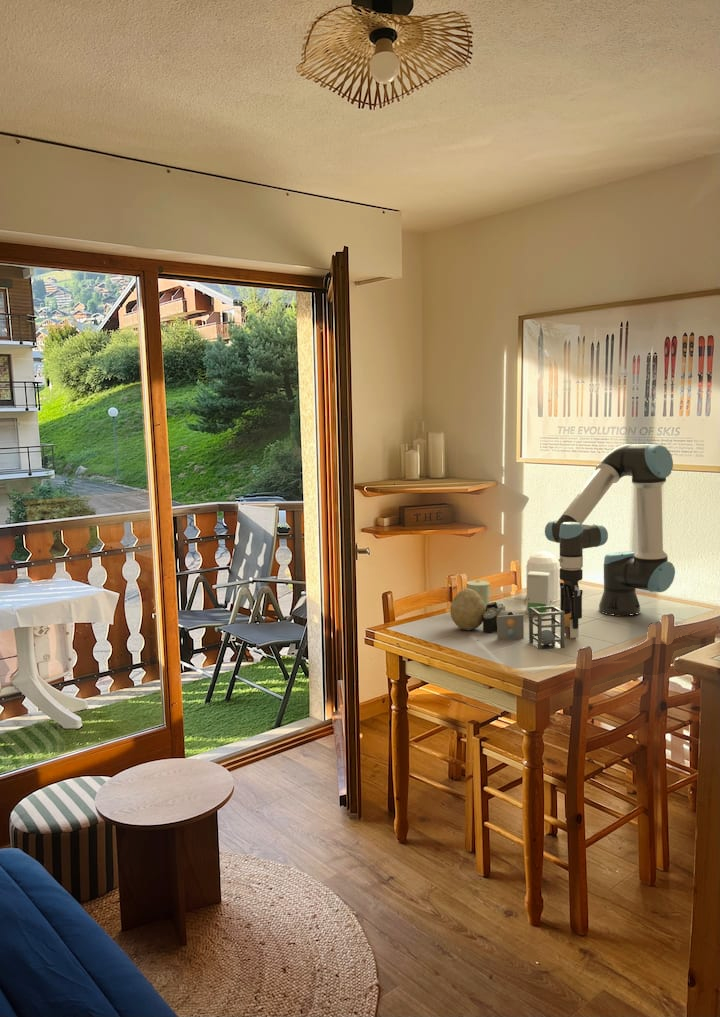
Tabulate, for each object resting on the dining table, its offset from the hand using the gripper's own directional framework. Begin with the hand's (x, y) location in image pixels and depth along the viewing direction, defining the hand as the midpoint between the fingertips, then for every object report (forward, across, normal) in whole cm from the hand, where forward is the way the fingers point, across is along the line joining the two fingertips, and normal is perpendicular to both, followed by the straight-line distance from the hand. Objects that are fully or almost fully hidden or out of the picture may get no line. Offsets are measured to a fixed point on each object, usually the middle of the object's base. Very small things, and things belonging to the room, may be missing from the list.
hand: (570, 635), depth 266 cm
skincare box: (+2, -38, +3) cm, 38 cm away
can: (+2, -45, -19) cm, 49 cm away
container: (+2, -59, +13) cm, 60 cm away
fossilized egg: (+2, -21, -30) cm, 37 cm away
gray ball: (+1, +6, -11) cm, 13 cm away
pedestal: (+2, 0, 0) cm, 2 cm away
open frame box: (+2, +6, -11) cm, 13 cm away
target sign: (+2, -4, -20) cm, 20 cm away
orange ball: (-2, 0, 0) cm, 2 cm away
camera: (+2, -17, -20) cm, 26 cm away
